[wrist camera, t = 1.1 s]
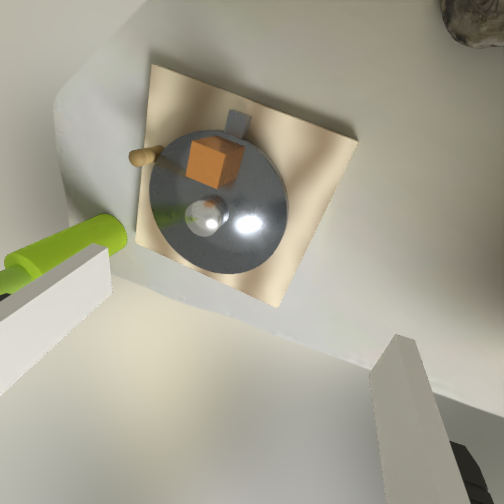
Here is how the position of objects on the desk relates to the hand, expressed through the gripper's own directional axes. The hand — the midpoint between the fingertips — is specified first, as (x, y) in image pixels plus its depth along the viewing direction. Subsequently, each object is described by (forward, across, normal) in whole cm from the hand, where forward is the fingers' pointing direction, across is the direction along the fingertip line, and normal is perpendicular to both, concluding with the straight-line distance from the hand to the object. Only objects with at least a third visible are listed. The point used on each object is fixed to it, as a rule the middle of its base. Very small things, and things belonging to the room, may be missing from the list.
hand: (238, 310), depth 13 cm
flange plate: (+19, +7, +3) cm, 21 cm away
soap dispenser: (+23, +24, +14) cm, 36 cm away
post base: (+22, +7, +4) cm, 23 cm away
